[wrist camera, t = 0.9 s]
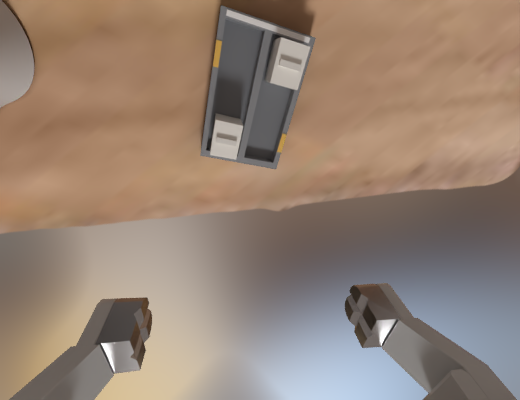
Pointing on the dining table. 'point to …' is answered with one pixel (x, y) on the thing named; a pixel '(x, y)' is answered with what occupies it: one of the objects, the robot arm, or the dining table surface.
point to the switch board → (250, 87)
